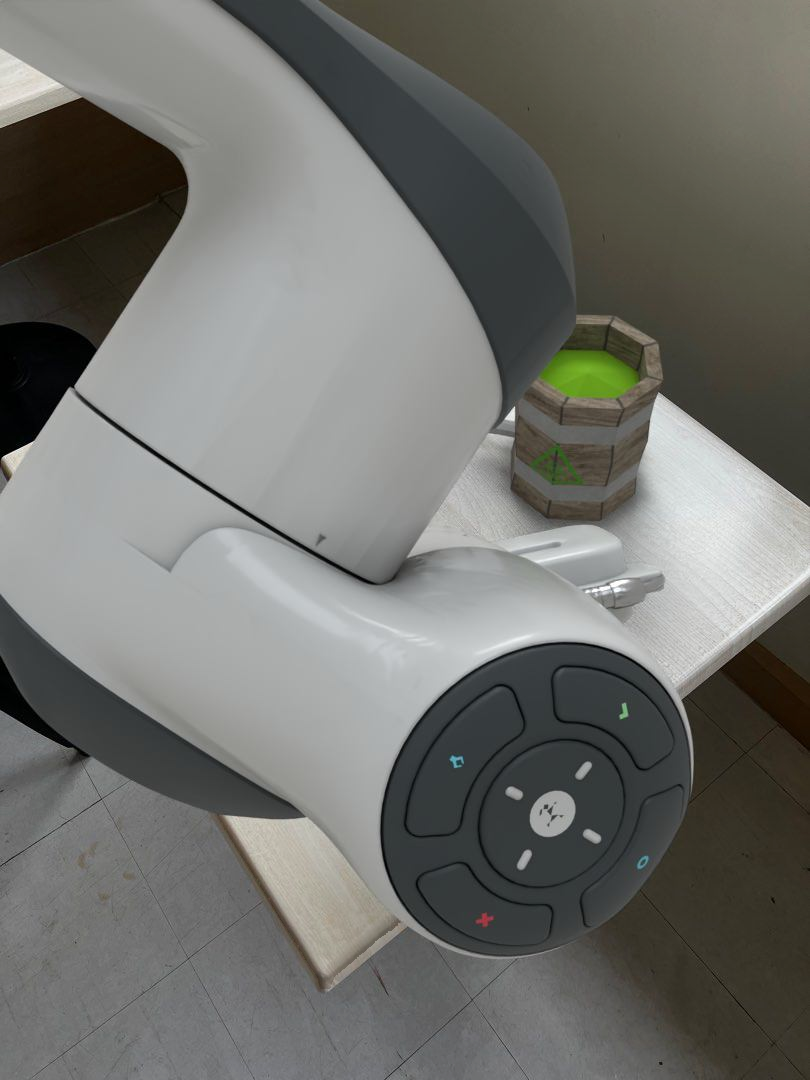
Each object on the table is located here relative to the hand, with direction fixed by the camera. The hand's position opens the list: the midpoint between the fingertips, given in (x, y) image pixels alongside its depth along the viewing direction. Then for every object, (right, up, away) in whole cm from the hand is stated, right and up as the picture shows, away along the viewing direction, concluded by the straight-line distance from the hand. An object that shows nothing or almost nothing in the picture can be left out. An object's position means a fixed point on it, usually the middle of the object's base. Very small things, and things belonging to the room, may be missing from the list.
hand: (382, 583), depth 47 cm
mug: (+13, +9, +27) cm, 31 cm away
